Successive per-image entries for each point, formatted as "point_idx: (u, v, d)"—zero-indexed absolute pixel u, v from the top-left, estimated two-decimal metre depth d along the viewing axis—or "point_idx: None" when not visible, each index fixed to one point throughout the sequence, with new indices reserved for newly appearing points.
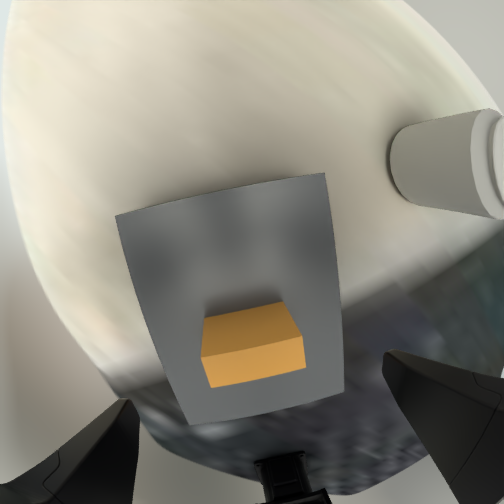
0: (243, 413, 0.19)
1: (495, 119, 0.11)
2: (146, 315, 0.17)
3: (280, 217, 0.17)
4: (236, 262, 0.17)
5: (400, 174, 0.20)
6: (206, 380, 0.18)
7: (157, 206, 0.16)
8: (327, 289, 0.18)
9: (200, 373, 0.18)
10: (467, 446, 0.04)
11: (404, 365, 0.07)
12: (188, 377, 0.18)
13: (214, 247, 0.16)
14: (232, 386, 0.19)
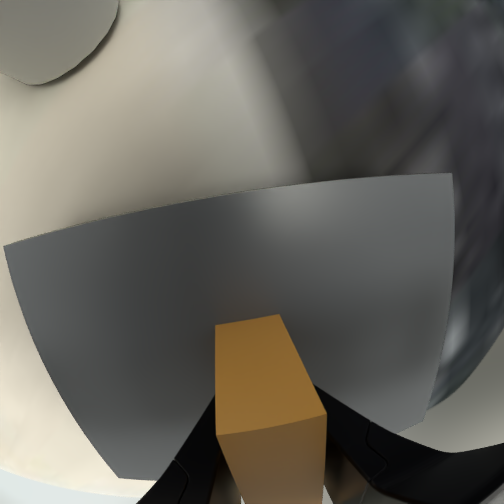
0: (433, 361, 0.10)
1: None
2: None
3: (68, 322, 0.08)
4: (146, 390, 0.09)
5: (52, 66, 0.09)
6: None
7: (96, 448, 0.09)
8: (194, 230, 0.08)
9: None
10: None
11: None
12: None
13: (129, 411, 0.09)
14: (378, 386, 0.10)
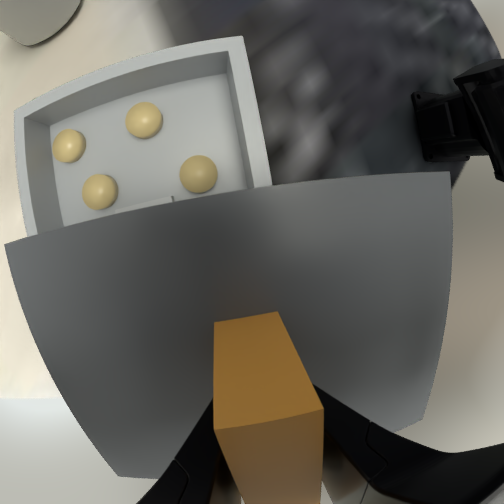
0: (432, 359, 0.10)
1: None
2: None
3: (68, 320, 0.08)
4: (145, 387, 0.09)
5: (42, 31, 0.13)
6: None
7: (96, 446, 0.10)
8: (193, 228, 0.08)
9: None
10: (357, 503, 0.04)
11: None
12: None
13: (129, 409, 0.09)
14: (377, 384, 0.10)
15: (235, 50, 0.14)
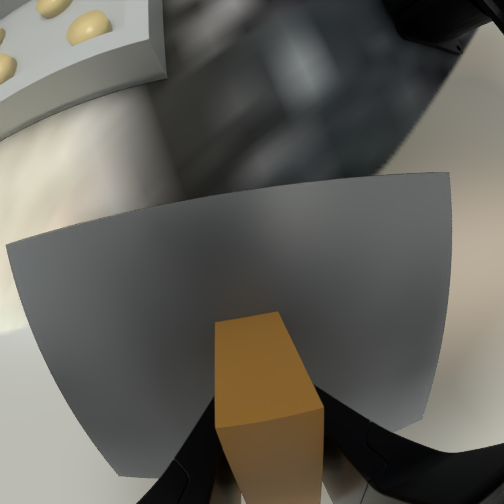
0: (431, 359, 0.10)
1: None
2: None
3: (70, 320, 0.08)
4: (146, 387, 0.09)
5: None
6: None
7: (97, 446, 0.10)
8: (194, 228, 0.08)
9: None
10: None
11: None
12: None
13: (130, 409, 0.09)
14: (376, 384, 0.10)
15: None
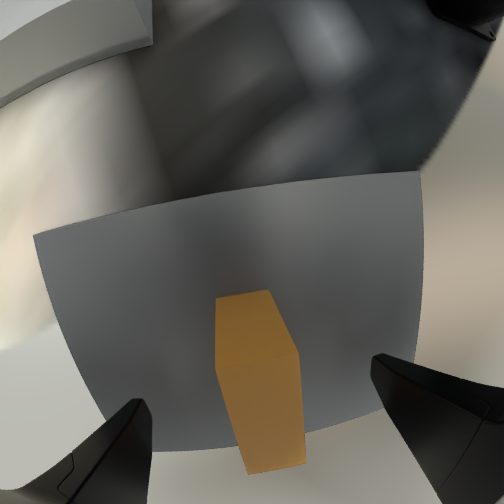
0: (410, 339, 0.12)
1: None
2: (233, 444, 0.13)
3: (91, 299, 0.10)
4: (156, 358, 0.11)
5: None
6: (339, 390, 0.12)
7: None
8: (199, 220, 0.10)
9: (326, 397, 0.12)
10: (455, 455, 0.04)
11: (391, 370, 0.07)
12: (329, 408, 0.13)
13: (140, 380, 0.11)
14: (359, 359, 0.12)
15: None
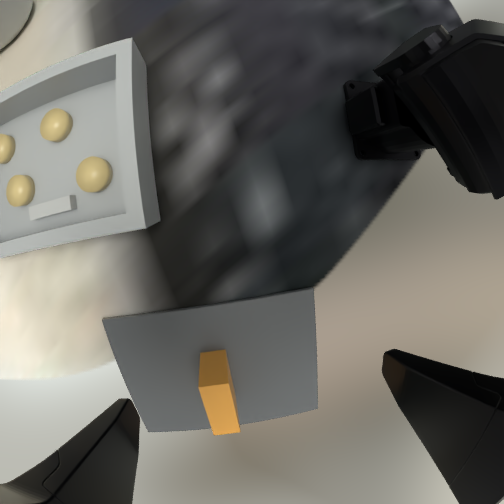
0: (312, 375, 0.23)
1: None
2: (211, 426, 0.23)
3: (137, 351, 0.21)
4: (170, 379, 0.21)
5: None
6: (269, 399, 0.23)
7: (139, 413, 0.22)
8: (191, 319, 0.21)
9: (262, 402, 0.23)
10: (468, 447, 0.04)
11: (404, 365, 0.07)
12: (265, 409, 0.23)
13: (161, 390, 0.22)
14: (278, 384, 0.23)
15: (122, 52, 0.12)
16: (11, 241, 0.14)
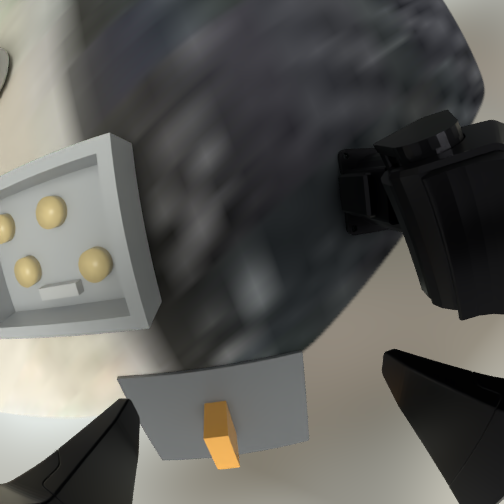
0: (302, 416, 0.25)
1: None
2: None
3: (149, 402, 0.23)
4: (180, 422, 0.23)
5: None
6: (265, 435, 0.25)
7: (154, 446, 0.24)
8: (195, 379, 0.22)
9: (259, 438, 0.25)
10: (467, 446, 0.04)
11: (404, 365, 0.07)
12: (262, 442, 0.25)
13: (172, 430, 0.24)
14: (273, 424, 0.25)
15: (102, 152, 0.14)
16: (29, 327, 0.16)
